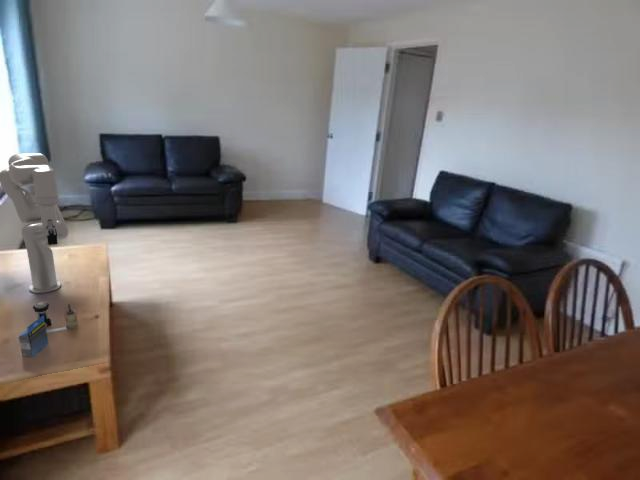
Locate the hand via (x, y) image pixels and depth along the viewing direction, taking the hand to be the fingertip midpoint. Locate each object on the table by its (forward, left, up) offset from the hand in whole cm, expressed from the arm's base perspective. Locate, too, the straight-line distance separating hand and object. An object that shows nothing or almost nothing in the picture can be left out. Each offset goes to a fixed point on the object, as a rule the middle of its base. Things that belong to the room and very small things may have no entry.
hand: (52, 240), depth 172 cm
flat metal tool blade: (+21, -1, -30) cm, 37 cm away
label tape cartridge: (+32, -9, -31) cm, 45 cm away
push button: (+15, -7, -31) cm, 35 cm away
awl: (+20, +3, -30) cm, 36 cm away
